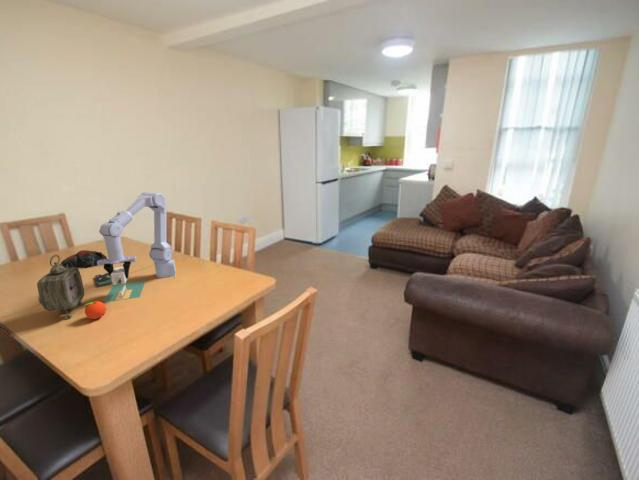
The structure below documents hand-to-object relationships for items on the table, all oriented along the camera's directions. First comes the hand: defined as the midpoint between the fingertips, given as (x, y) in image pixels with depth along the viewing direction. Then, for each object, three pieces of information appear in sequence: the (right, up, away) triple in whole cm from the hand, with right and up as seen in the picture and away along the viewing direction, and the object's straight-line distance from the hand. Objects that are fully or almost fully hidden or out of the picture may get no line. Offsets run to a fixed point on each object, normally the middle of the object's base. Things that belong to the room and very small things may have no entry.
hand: (120, 278), depth 139 cm
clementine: (-1, -14, -15) cm, 20 cm away
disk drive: (-18, -4, +18) cm, 26 cm away
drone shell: (-48, +3, +42) cm, 64 cm away
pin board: (-1, -7, +7) cm, 10 cm away
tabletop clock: (-15, -13, -11) cm, 22 cm away
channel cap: (0, -1, 0) cm, 1 cm away
